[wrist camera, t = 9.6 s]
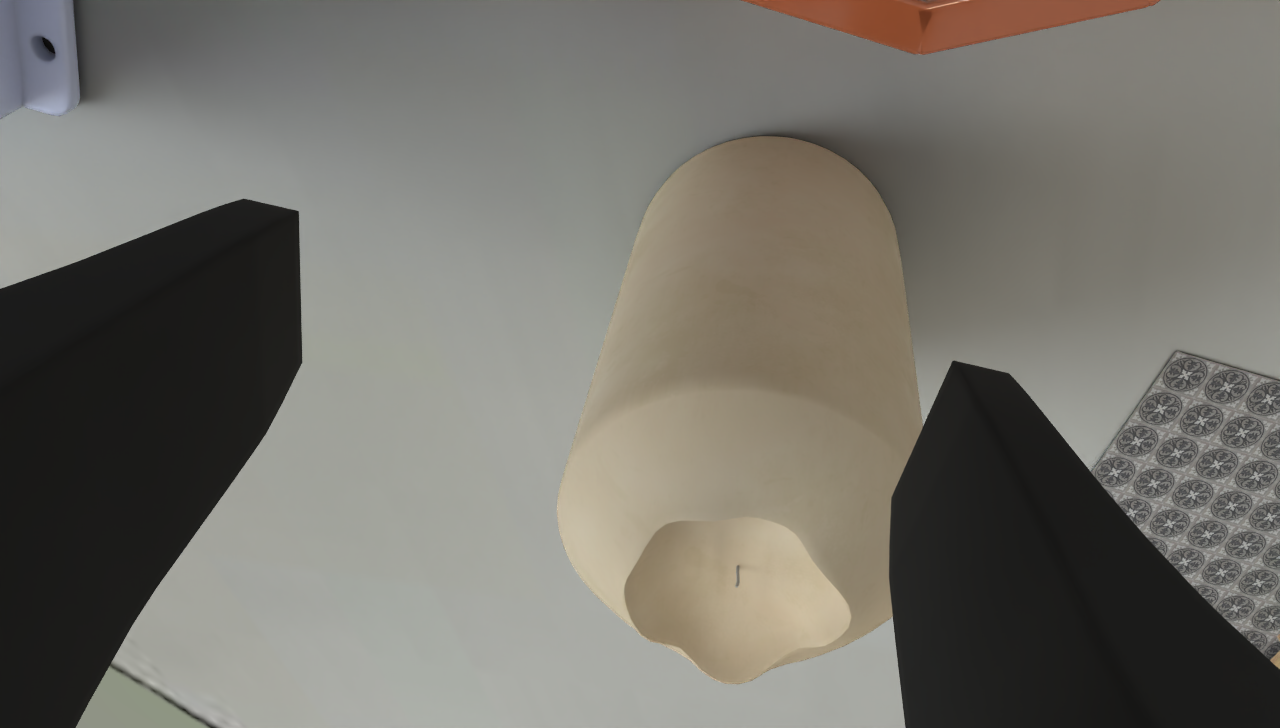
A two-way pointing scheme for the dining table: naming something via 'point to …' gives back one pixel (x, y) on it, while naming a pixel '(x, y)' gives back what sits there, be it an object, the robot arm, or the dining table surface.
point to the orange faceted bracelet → (945, 18)
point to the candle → (749, 414)
